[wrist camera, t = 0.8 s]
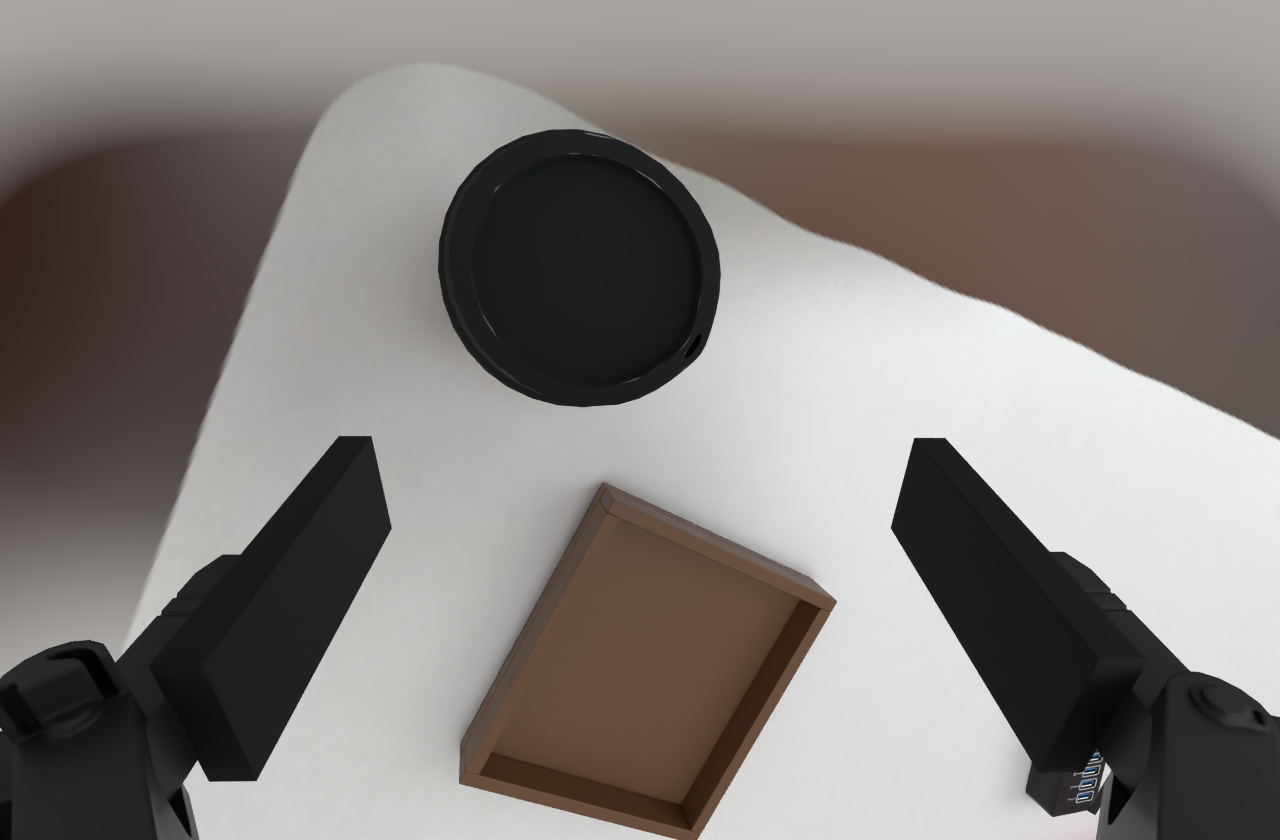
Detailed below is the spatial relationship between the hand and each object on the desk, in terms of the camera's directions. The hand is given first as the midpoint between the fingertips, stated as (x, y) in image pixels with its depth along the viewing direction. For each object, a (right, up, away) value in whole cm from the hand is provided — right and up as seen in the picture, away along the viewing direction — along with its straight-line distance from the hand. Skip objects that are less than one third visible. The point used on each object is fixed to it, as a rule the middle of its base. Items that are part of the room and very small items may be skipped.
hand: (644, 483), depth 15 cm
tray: (0, -13, +22) cm, 26 cm away
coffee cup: (-5, +9, +16) cm, 19 cm away
